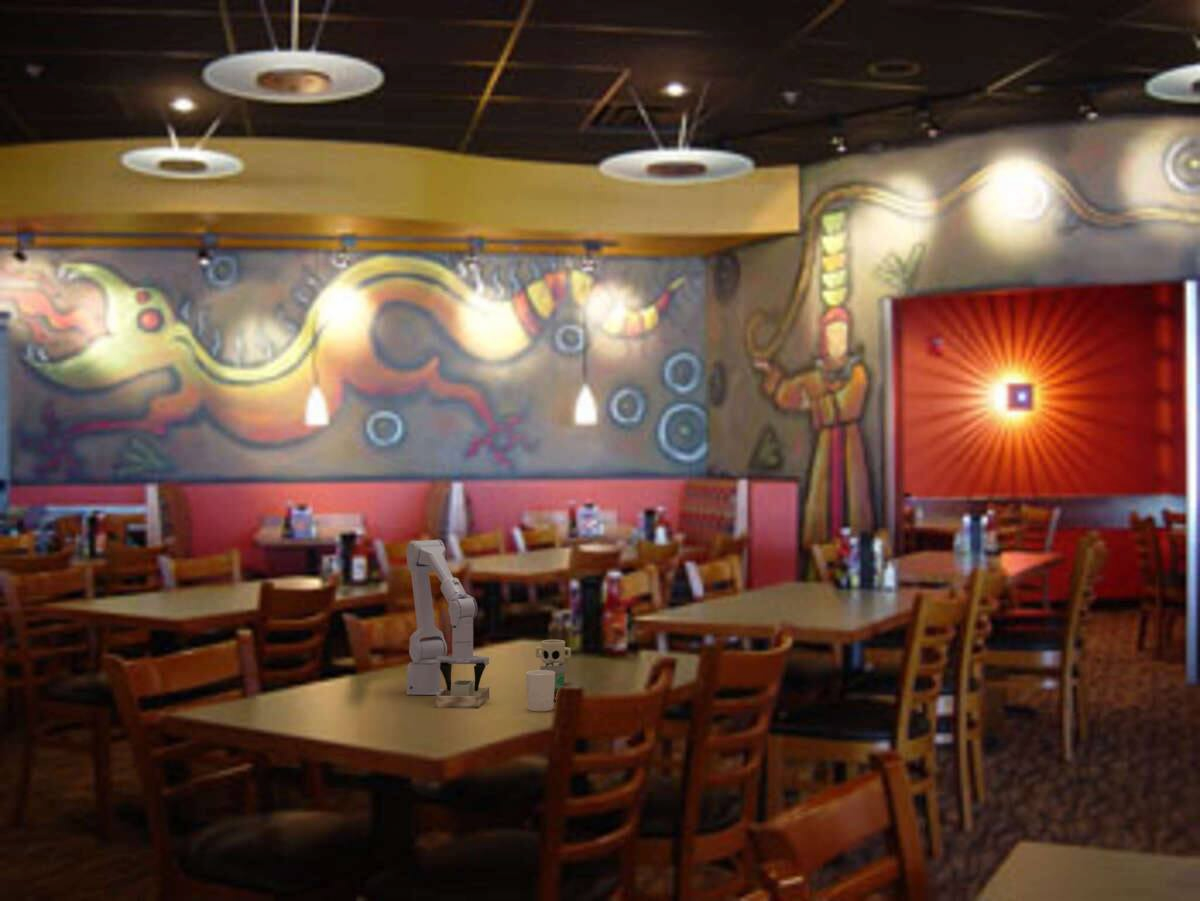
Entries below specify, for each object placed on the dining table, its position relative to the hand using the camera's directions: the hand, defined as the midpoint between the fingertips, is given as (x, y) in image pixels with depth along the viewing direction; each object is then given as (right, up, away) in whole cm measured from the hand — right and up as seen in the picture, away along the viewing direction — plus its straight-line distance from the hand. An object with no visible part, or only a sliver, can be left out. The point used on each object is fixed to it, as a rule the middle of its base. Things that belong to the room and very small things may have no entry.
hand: (462, 690), depth 388 cm
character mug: (+24, -4, +30) cm, 38 cm away
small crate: (0, -3, 0) cm, 3 cm away
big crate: (0, -3, 0) cm, 3 cm away
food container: (+26, -4, +5) cm, 27 cm away
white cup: (+22, -4, -10) cm, 25 cm away
